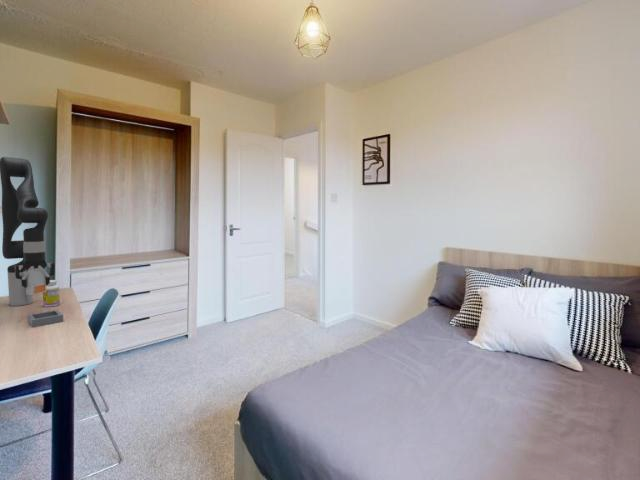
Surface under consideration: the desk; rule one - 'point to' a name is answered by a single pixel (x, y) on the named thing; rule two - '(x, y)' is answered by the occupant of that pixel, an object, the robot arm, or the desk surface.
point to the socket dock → (45, 318)
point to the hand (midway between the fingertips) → (36, 286)
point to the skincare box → (35, 281)
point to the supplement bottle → (51, 294)
